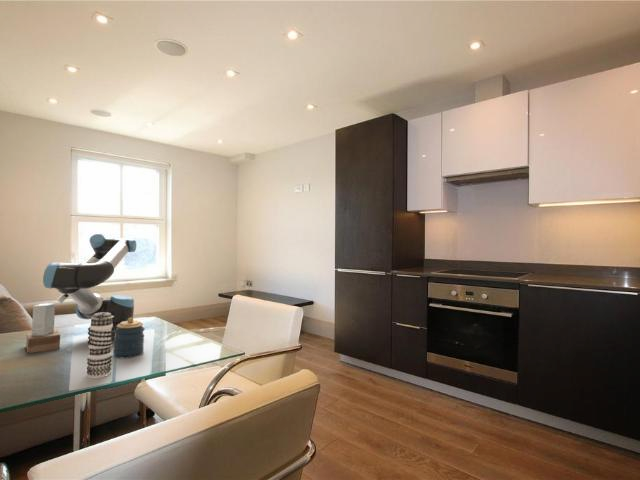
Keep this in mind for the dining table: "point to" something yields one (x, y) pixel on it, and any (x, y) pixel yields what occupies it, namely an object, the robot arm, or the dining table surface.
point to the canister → (129, 339)
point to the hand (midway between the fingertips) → (59, 301)
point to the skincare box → (43, 319)
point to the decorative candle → (100, 345)
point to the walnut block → (43, 342)
